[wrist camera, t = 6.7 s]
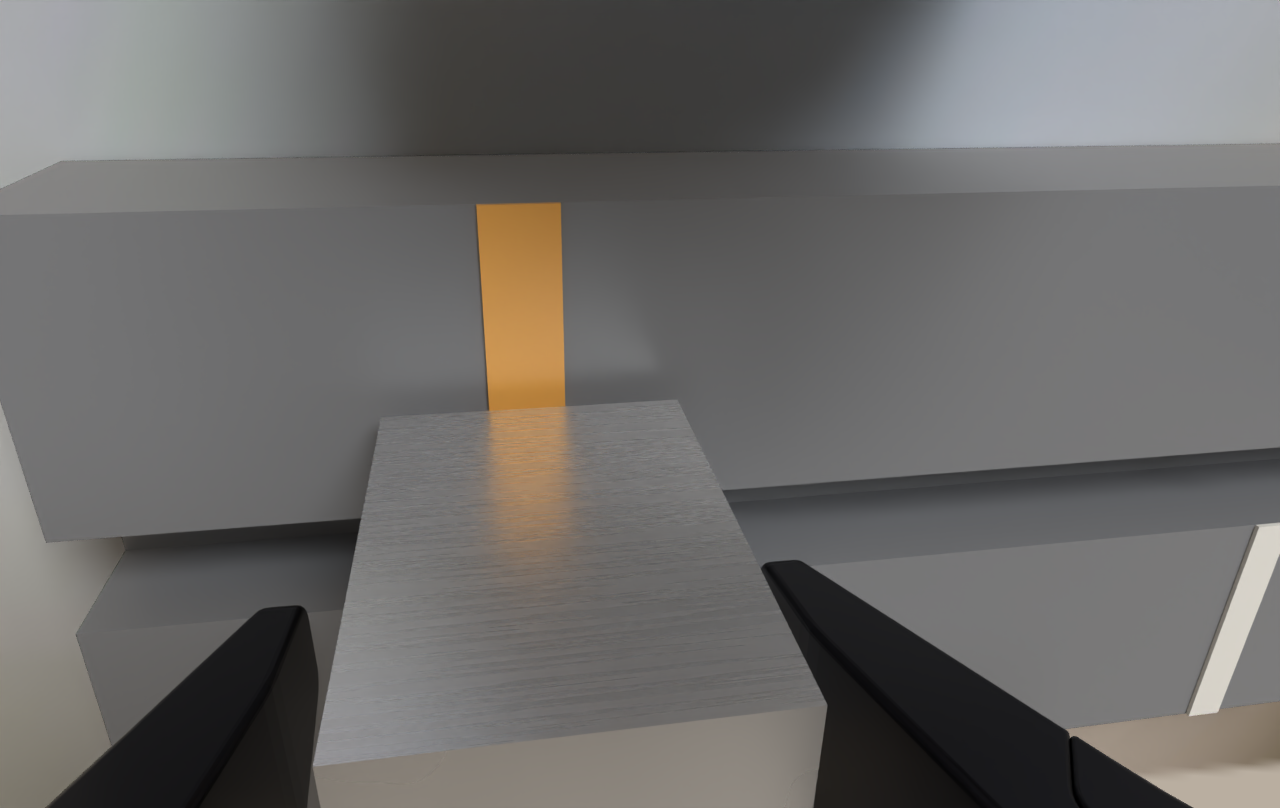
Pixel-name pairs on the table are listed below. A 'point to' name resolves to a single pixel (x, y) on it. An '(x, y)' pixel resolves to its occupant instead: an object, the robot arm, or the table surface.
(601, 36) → the table surface
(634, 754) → the fader tab
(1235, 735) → the table surface
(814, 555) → the slider console
